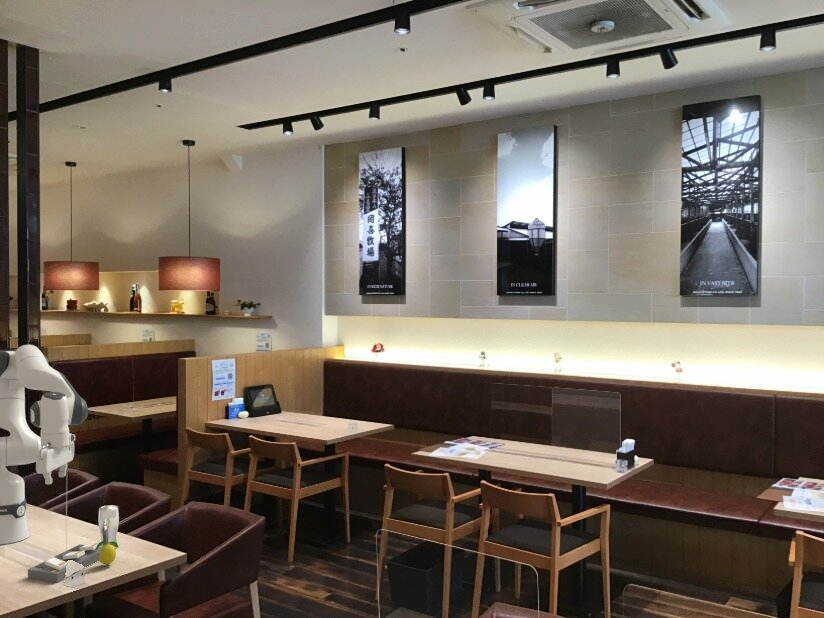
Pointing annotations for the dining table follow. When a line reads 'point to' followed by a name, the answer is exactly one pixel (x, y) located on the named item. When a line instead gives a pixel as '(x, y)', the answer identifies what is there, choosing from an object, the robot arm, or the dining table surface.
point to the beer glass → (108, 523)
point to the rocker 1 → (56, 563)
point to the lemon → (107, 552)
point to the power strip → (55, 575)
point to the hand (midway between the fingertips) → (55, 480)
